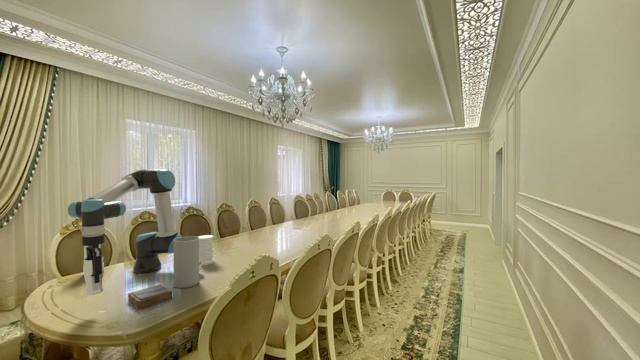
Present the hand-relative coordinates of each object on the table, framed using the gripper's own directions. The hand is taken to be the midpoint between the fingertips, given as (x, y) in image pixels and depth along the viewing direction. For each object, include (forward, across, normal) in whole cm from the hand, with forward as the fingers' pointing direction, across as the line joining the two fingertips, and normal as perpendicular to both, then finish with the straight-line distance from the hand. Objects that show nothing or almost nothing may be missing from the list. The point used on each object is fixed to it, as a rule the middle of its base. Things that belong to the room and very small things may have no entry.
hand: (94, 287), depth 117 cm
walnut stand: (+11, +6, +20) cm, 23 cm away
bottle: (+12, -63, +12) cm, 65 cm away
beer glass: (+2, 0, 0) cm, 2 cm away
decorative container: (+12, -28, +66) cm, 72 cm away
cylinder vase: (+11, 0, +40) cm, 41 cm away
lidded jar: (+12, -12, +49) cm, 51 cm away
